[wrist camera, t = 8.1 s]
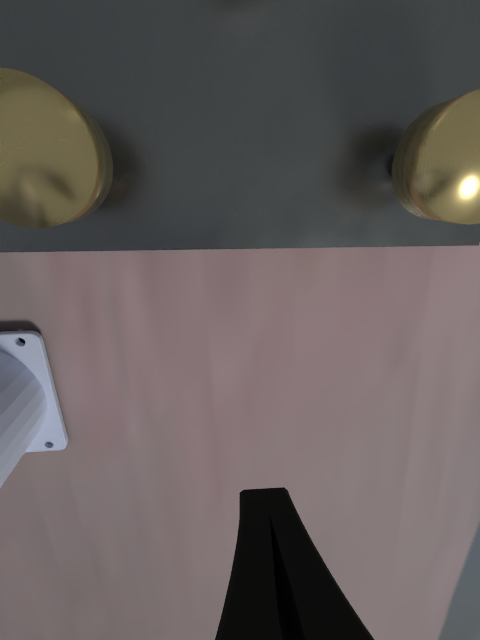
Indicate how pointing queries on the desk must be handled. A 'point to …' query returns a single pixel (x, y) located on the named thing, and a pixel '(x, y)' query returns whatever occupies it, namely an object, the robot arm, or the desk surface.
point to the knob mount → (246, 116)
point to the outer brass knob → (441, 162)
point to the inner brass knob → (48, 155)
